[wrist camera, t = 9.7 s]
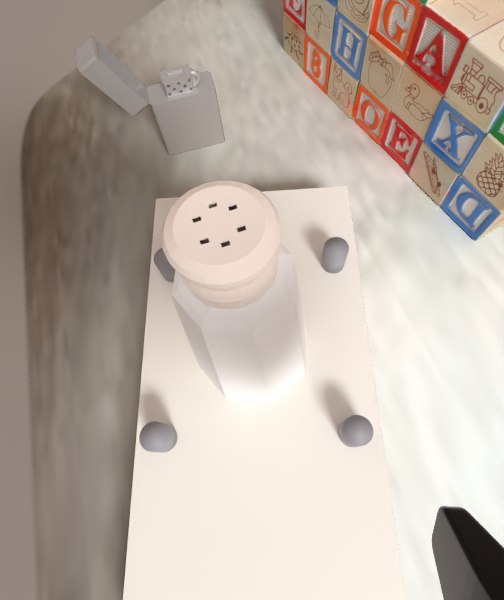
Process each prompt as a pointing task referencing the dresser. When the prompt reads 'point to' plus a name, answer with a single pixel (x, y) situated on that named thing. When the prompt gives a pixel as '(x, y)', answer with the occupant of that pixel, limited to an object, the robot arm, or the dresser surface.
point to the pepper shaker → (236, 290)
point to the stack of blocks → (417, 89)
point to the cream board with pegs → (265, 445)
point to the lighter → (159, 97)
